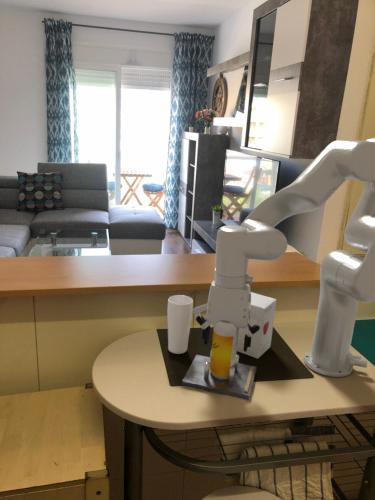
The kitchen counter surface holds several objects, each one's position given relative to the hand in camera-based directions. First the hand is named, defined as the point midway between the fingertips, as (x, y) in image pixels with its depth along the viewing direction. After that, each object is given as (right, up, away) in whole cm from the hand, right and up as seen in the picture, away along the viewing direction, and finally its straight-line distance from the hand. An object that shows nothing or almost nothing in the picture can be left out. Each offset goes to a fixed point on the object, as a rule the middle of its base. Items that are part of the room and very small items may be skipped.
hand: (226, 345), depth 102 cm
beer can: (-1, -8, +2) cm, 8 cm away
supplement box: (+9, -5, +18) cm, 20 cm away
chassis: (-1, -9, +2) cm, 9 cm away
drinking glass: (-12, -5, +14) cm, 19 cm away
